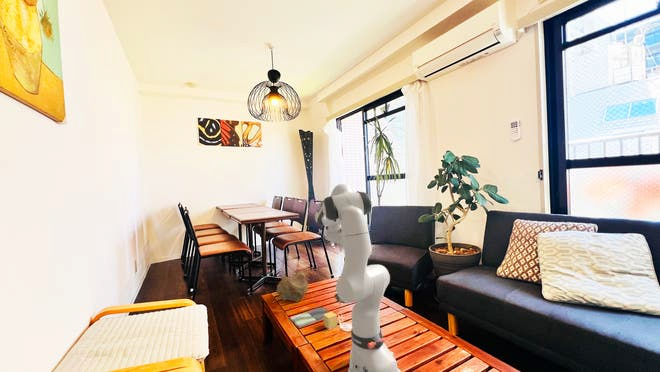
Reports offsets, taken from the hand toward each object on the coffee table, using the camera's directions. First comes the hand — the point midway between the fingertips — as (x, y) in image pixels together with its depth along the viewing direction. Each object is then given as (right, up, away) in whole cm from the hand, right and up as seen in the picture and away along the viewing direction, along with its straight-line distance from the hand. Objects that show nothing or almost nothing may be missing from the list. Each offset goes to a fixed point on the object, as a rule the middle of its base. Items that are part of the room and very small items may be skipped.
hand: (337, 249), depth 168 cm
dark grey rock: (+7, -33, +7) cm, 34 cm away
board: (-15, -33, -18) cm, 40 cm away
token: (-4, -33, -28) cm, 43 cm away
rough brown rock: (-27, -34, +7) cm, 44 cm away
